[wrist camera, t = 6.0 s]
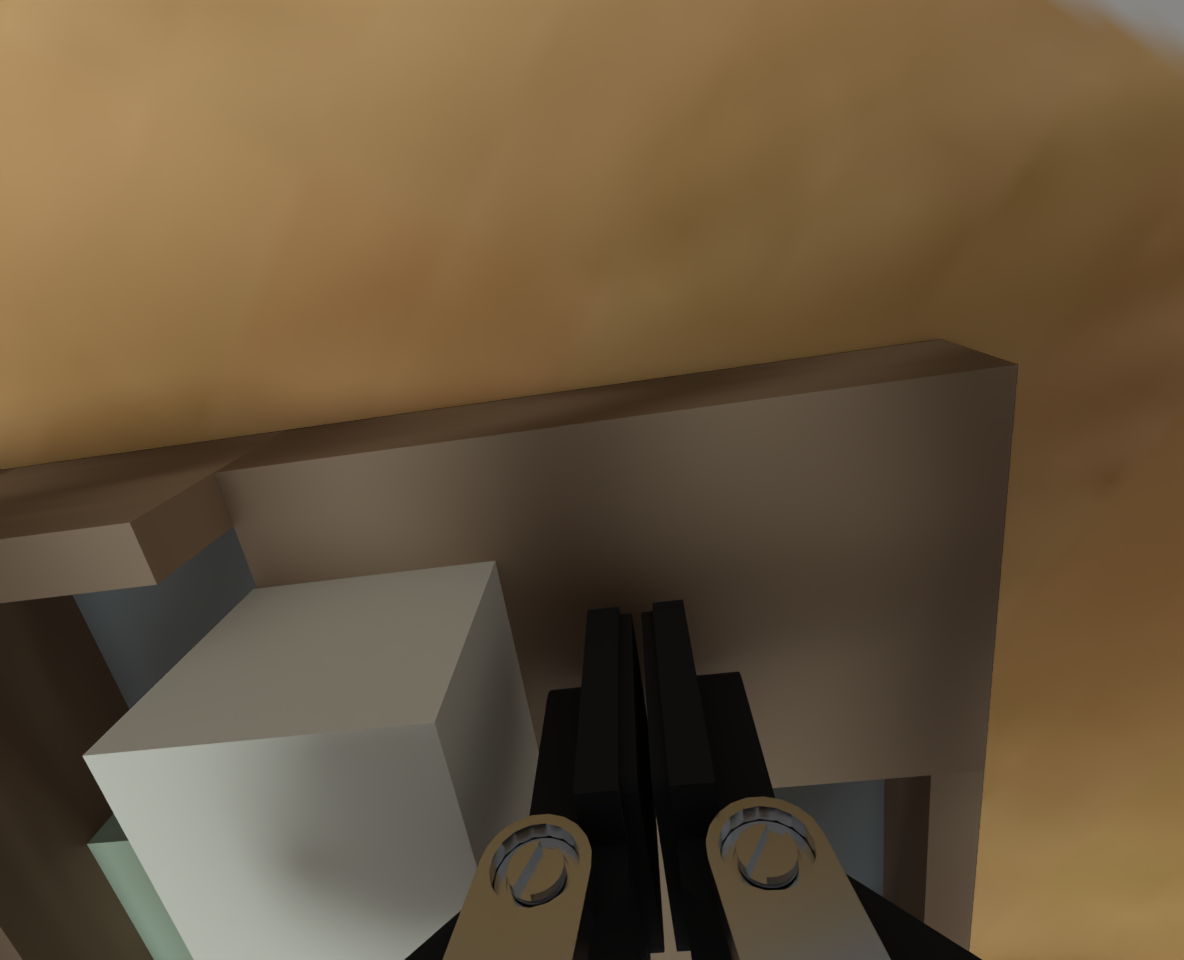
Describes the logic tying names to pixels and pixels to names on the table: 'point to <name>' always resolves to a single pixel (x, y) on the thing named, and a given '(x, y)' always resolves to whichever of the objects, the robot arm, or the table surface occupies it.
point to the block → (327, 765)
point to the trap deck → (550, 594)
